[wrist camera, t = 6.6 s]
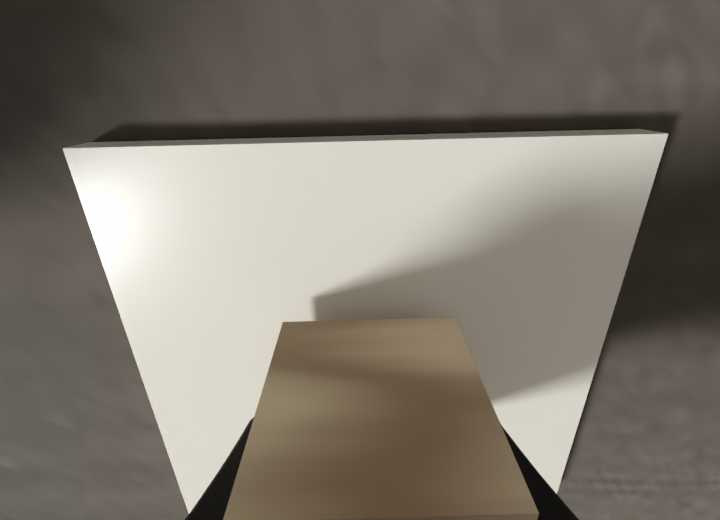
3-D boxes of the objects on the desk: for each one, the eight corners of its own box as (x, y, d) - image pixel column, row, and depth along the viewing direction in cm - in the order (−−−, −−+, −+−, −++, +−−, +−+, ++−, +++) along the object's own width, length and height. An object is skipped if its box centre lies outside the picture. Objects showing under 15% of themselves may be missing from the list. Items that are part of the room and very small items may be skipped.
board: (200, 494, 16) (190, 520, 15) (89, 142, 10) (62, 148, 9) (540, 485, 16) (551, 510, 15) (639, 128, 10) (668, 133, 9)
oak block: (298, 443, 12) (263, 667, 7) (282, 321, 10) (222, 522, 5) (442, 438, 12) (497, 660, 7) (454, 317, 10) (538, 514, 5)
